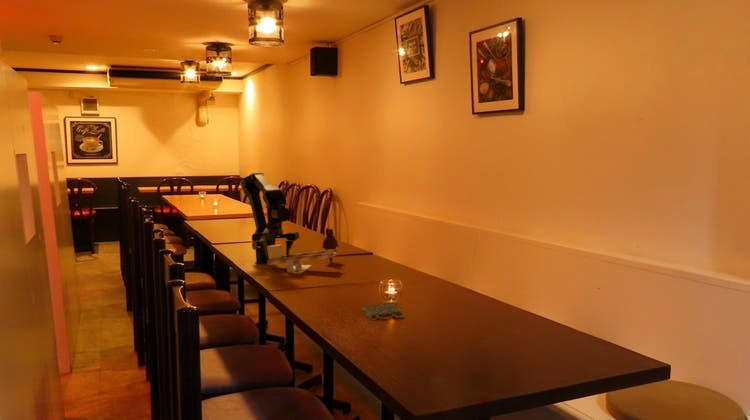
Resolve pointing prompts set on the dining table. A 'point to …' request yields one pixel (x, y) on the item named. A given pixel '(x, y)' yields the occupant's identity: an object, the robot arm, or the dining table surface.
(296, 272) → the stand
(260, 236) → the robot arm
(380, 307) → the woven mat
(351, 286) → the dining table surface
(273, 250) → the tan block
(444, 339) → the dining table surface
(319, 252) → the beam
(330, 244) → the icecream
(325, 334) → the dining table surface
